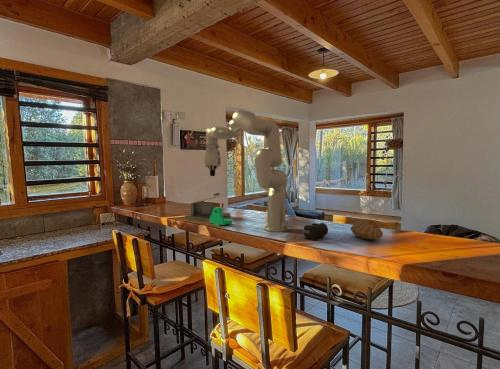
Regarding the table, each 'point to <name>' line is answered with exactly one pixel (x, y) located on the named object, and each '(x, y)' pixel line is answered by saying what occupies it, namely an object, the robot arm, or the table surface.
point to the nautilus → (366, 230)
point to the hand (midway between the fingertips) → (212, 175)
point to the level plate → (208, 197)
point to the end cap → (315, 231)
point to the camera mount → (218, 217)
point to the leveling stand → (203, 211)
